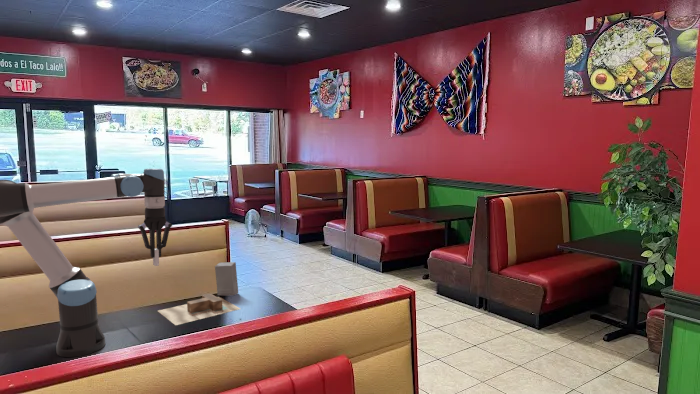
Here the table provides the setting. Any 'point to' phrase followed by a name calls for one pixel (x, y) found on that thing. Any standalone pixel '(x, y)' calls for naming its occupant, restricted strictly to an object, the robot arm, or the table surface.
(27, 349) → the table surface
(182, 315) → the board
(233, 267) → the skincare box
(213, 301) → the t block
